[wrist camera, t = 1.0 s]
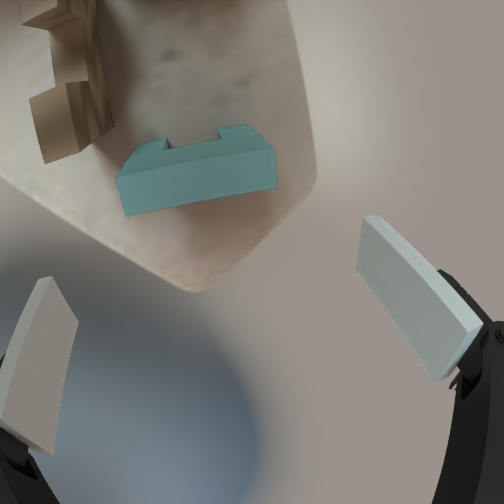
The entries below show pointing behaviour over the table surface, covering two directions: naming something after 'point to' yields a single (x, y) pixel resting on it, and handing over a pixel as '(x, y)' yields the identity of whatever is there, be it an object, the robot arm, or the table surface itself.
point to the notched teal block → (196, 171)
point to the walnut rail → (69, 77)
